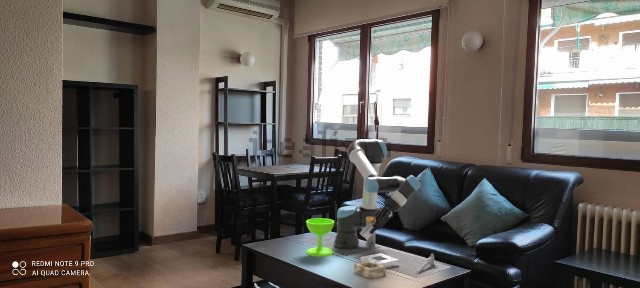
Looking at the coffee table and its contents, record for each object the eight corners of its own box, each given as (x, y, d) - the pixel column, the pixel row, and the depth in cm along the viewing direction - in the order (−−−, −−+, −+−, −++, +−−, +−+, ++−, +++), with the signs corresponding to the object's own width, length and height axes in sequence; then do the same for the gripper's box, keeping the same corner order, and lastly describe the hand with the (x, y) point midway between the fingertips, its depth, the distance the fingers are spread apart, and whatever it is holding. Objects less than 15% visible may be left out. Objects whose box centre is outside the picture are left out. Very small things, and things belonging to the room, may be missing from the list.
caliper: (432, 264, 239) (432, 252, 239) (434, 264, 239) (434, 252, 238) (415, 274, 223) (415, 261, 223) (417, 274, 222) (417, 261, 222)
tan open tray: (354, 271, 225) (354, 263, 224) (369, 268, 230) (370, 260, 230) (369, 278, 215) (370, 270, 214) (385, 275, 220) (385, 266, 220)
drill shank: (364, 245, 222) (364, 217, 222) (371, 244, 225) (371, 216, 224) (370, 247, 218) (370, 218, 218) (377, 246, 221) (377, 217, 220)
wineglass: (334, 249, 265) (335, 218, 264) (332, 257, 249) (333, 224, 248) (307, 248, 266) (307, 217, 266) (303, 256, 250) (304, 223, 250)
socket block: (360, 262, 240) (360, 257, 239) (380, 258, 247) (380, 253, 247) (378, 269, 228) (378, 263, 228) (398, 265, 236) (398, 259, 236)
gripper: (407, 210, 216) (374, 246, 213) (393, 204, 233) (362, 237, 230) (397, 199, 215) (364, 235, 211) (384, 194, 232) (352, 227, 228)
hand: (363, 236), depth 221 cm, fingers closed on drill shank, 4 cm apart
